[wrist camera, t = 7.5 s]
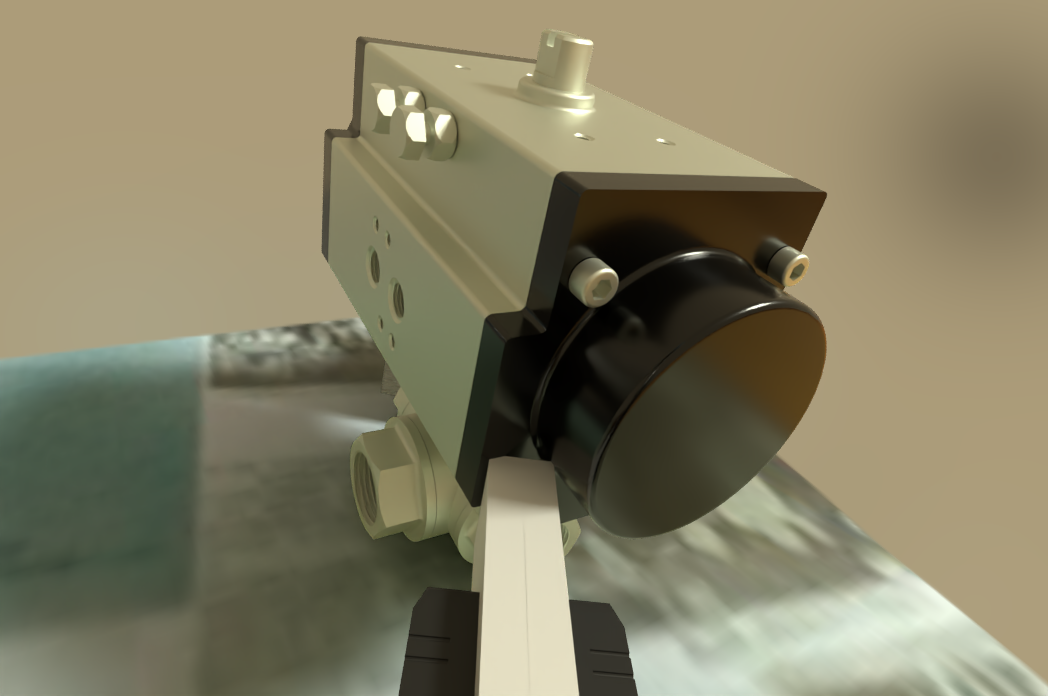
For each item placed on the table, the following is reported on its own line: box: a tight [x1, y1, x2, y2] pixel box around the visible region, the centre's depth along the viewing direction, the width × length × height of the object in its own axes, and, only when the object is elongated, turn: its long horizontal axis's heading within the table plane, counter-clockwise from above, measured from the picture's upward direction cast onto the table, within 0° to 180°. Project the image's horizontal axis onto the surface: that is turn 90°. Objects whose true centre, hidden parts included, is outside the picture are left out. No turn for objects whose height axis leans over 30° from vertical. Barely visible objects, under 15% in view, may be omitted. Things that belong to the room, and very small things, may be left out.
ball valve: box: [322, 29, 827, 563], centre depth 21 cm, size 18×8×18 cm, turn 30°
